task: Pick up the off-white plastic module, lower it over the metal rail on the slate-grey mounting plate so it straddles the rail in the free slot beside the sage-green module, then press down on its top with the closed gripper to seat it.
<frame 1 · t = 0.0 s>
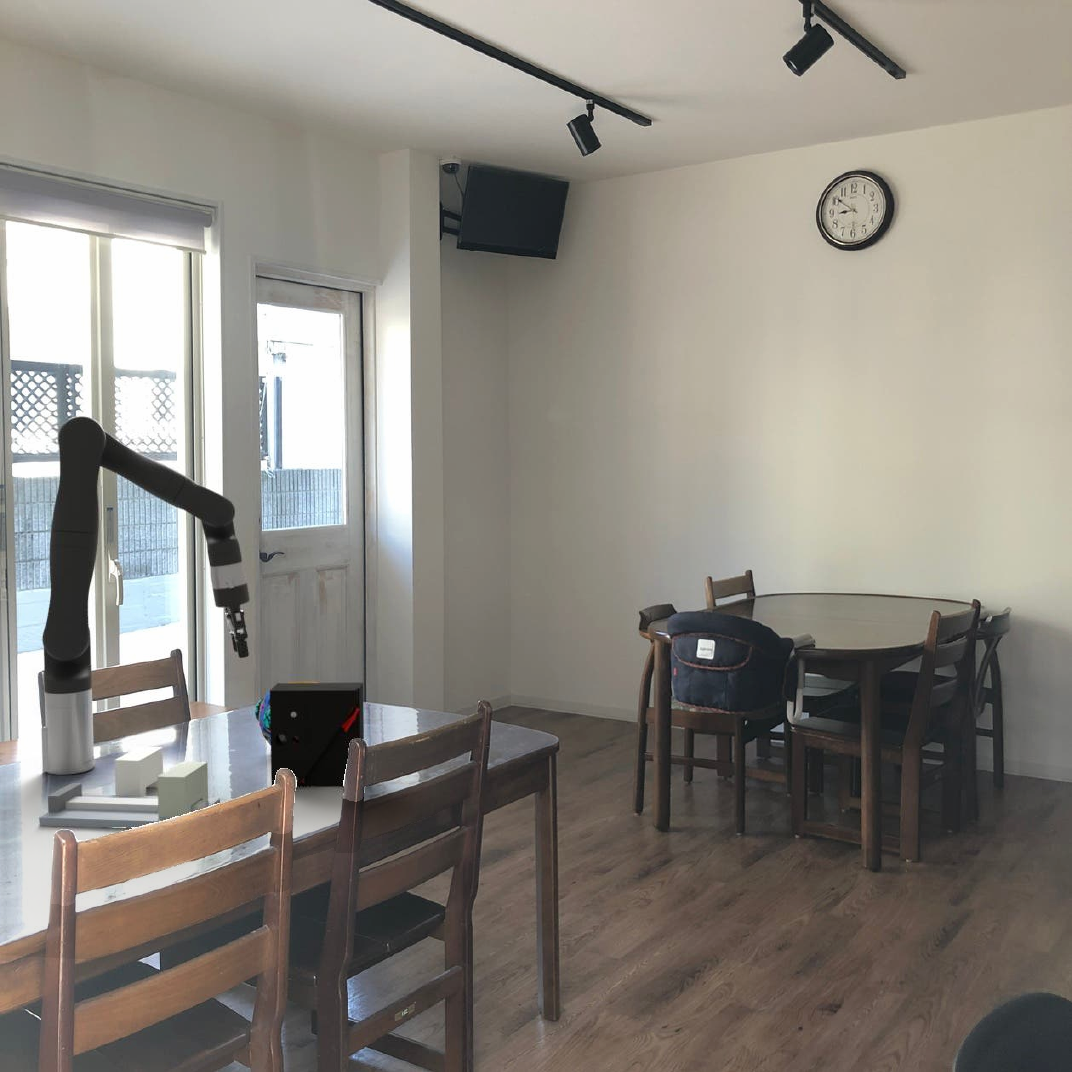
hand: (241, 654, 241), 22 cm above the table, tool pointing down, fingers open, 8 cm apart
ceramic pot: (299, 752, 243), on the table
mounting plate: (132, 815, 198), on the table
module: (140, 790, 213), on the table
electrical component: (319, 783, 219), on the table
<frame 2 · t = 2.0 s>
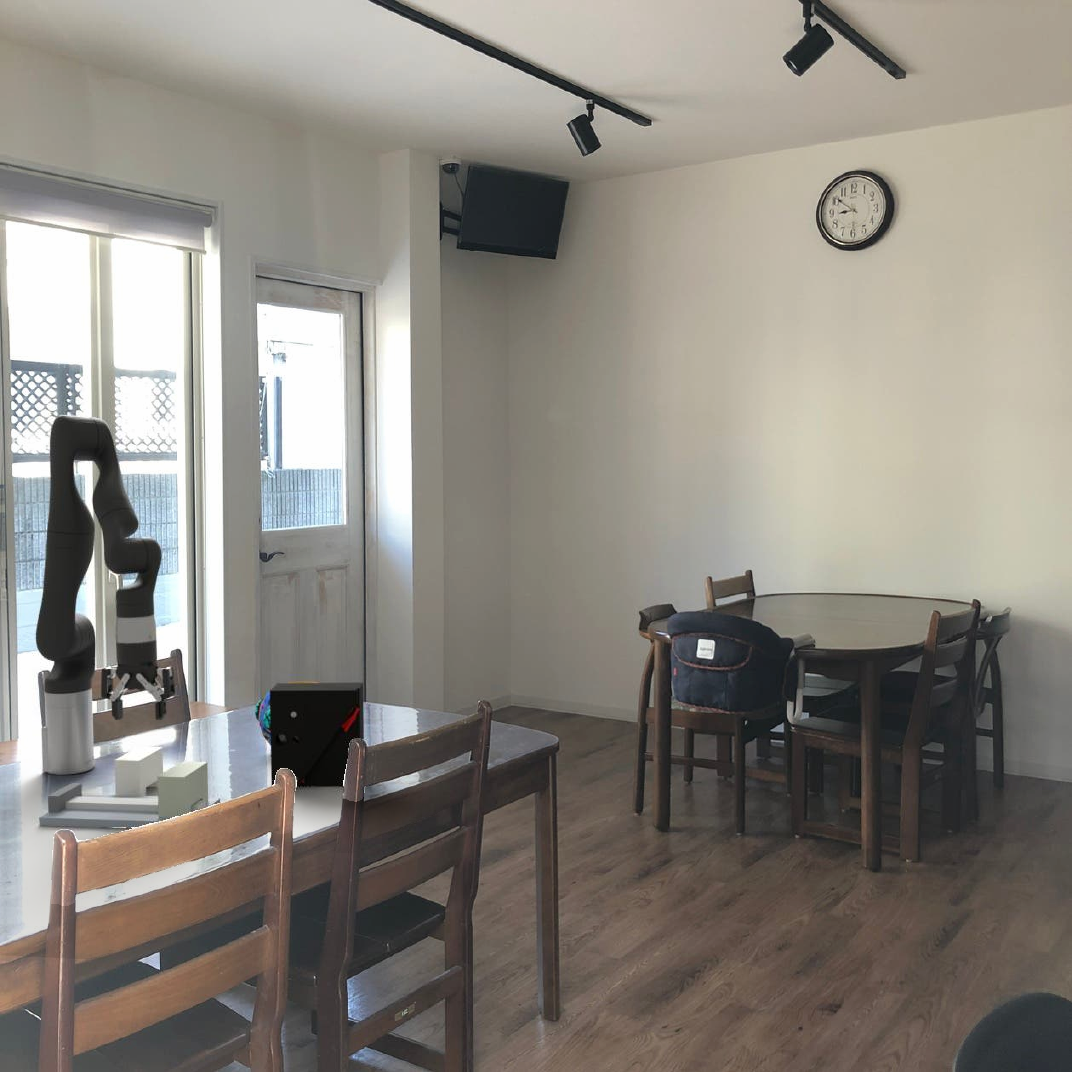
hand: (139, 719, 213), 14 cm above the table, tool pointing down, fingers open, 8 cm apart
nothing on the table moved.
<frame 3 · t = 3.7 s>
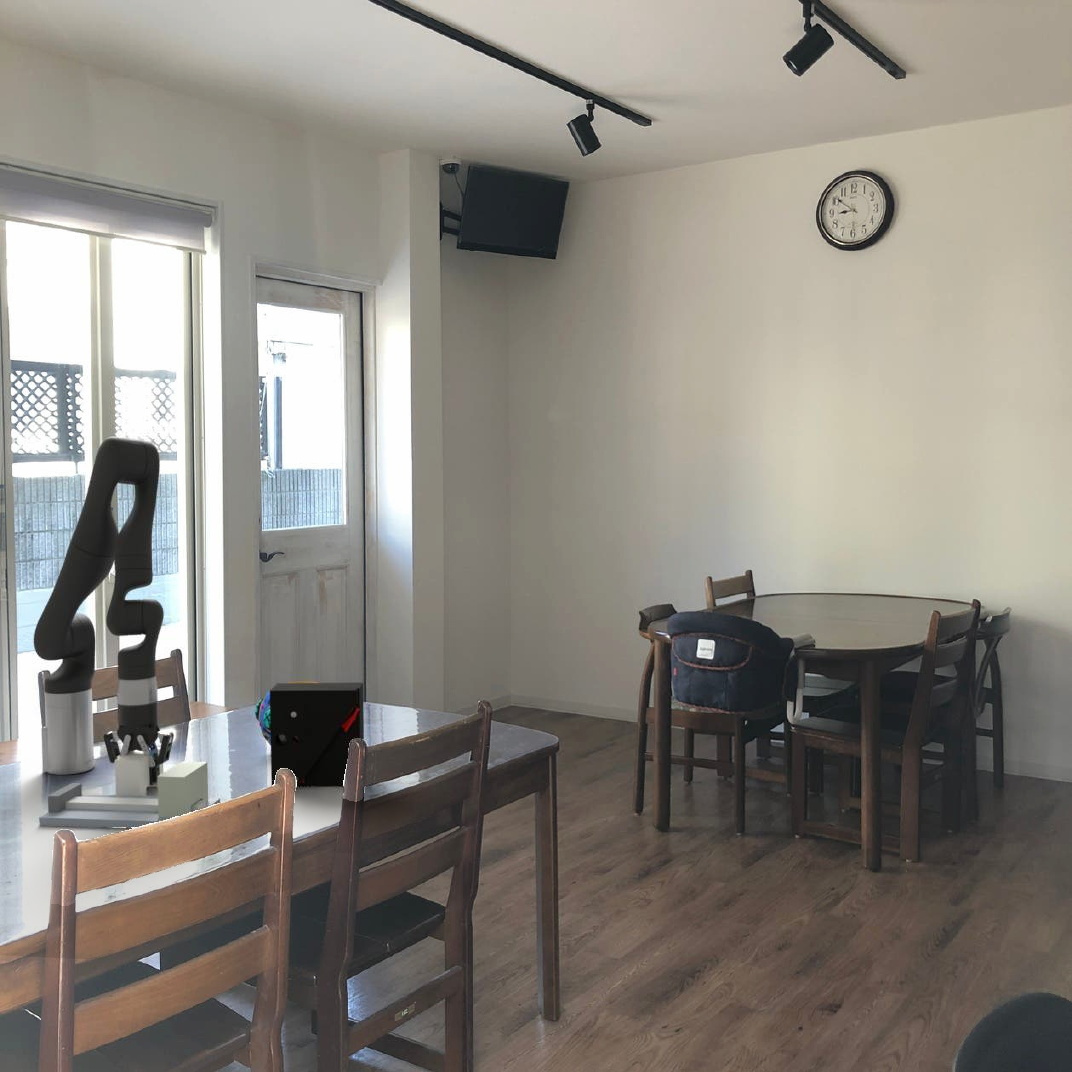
hand: (140, 783, 213), 1 cm above the table, tool pointing down, fingers closed on module, 5 cm apart
module: (140, 790, 213), on the table, touching gripper
everything else where it was.
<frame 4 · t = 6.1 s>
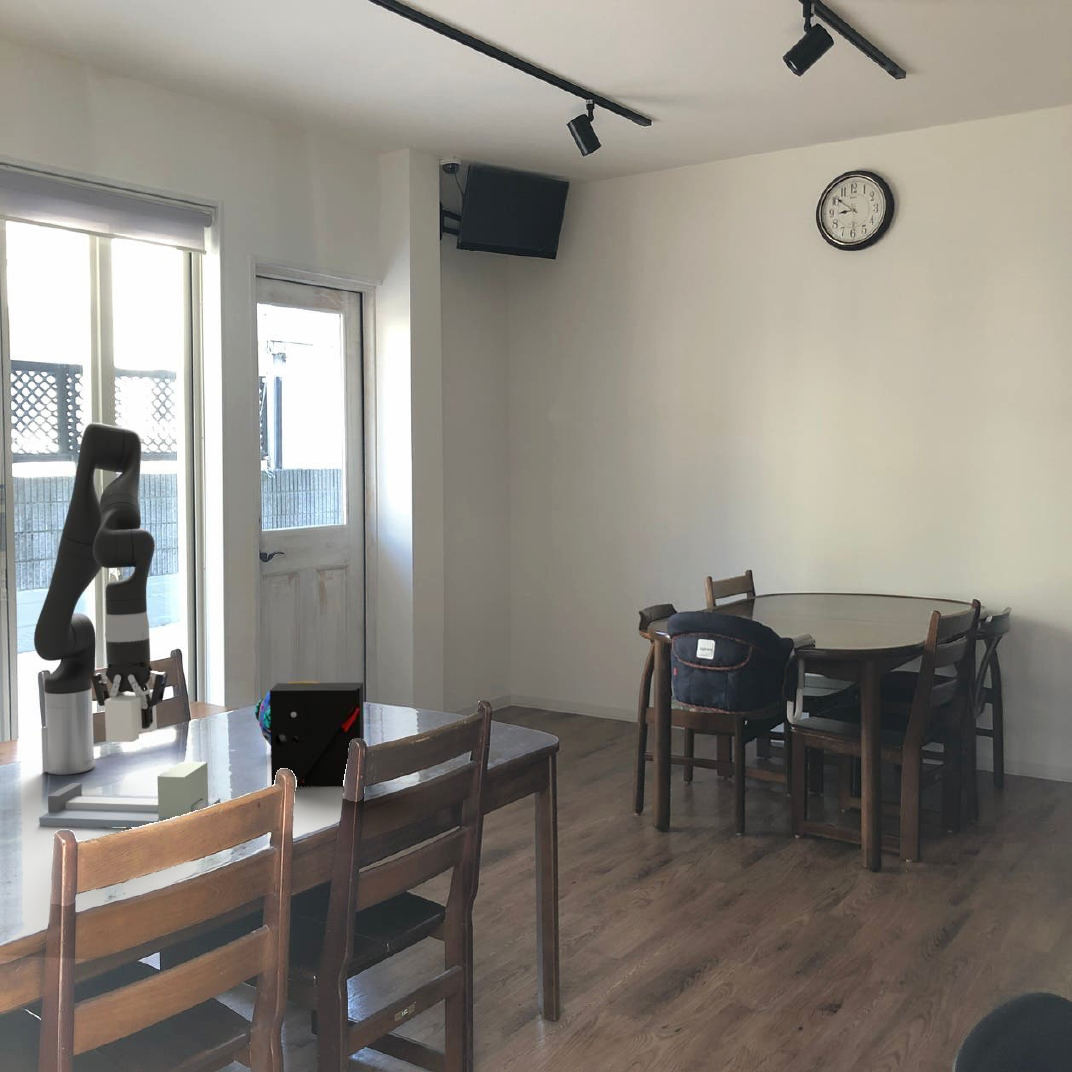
hand: (131, 727, 199), 16 cm above the table, tool pointing down, fingers closed on module, 5 cm apart
module: (132, 735, 199), point 15 cm above the table, touching gripper
everything else where it was.
when the fingers open (5 cm above the table, at t = 8.7 s): module drops 2 cm, resting on mounting plate.
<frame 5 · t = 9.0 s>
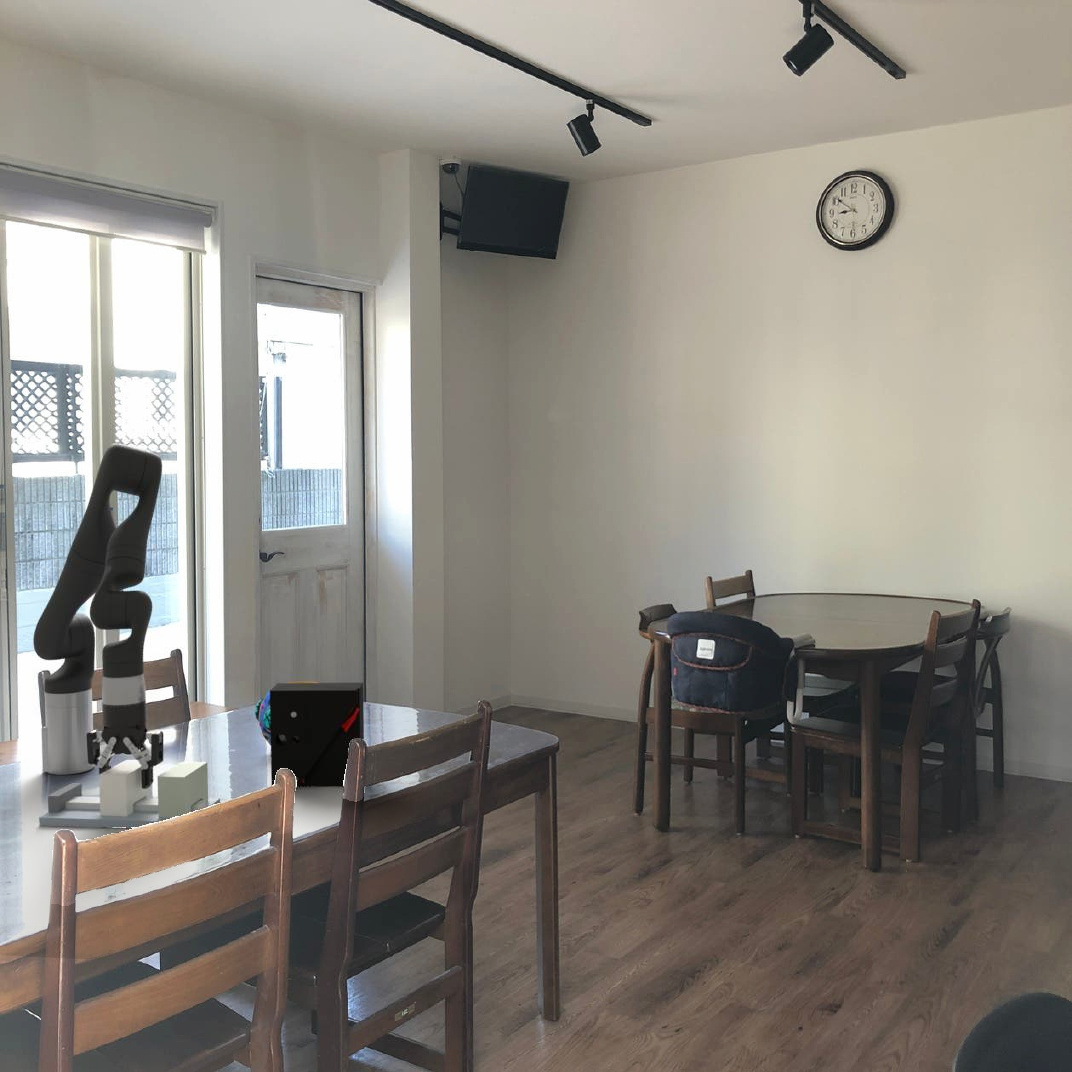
hand: (126, 786, 198), 5 cm above the table, tool pointing down, fingers open, 7 cm apart
module: (127, 807, 198), point 1 cm above the table, touching mounting plate
everything else where it was.
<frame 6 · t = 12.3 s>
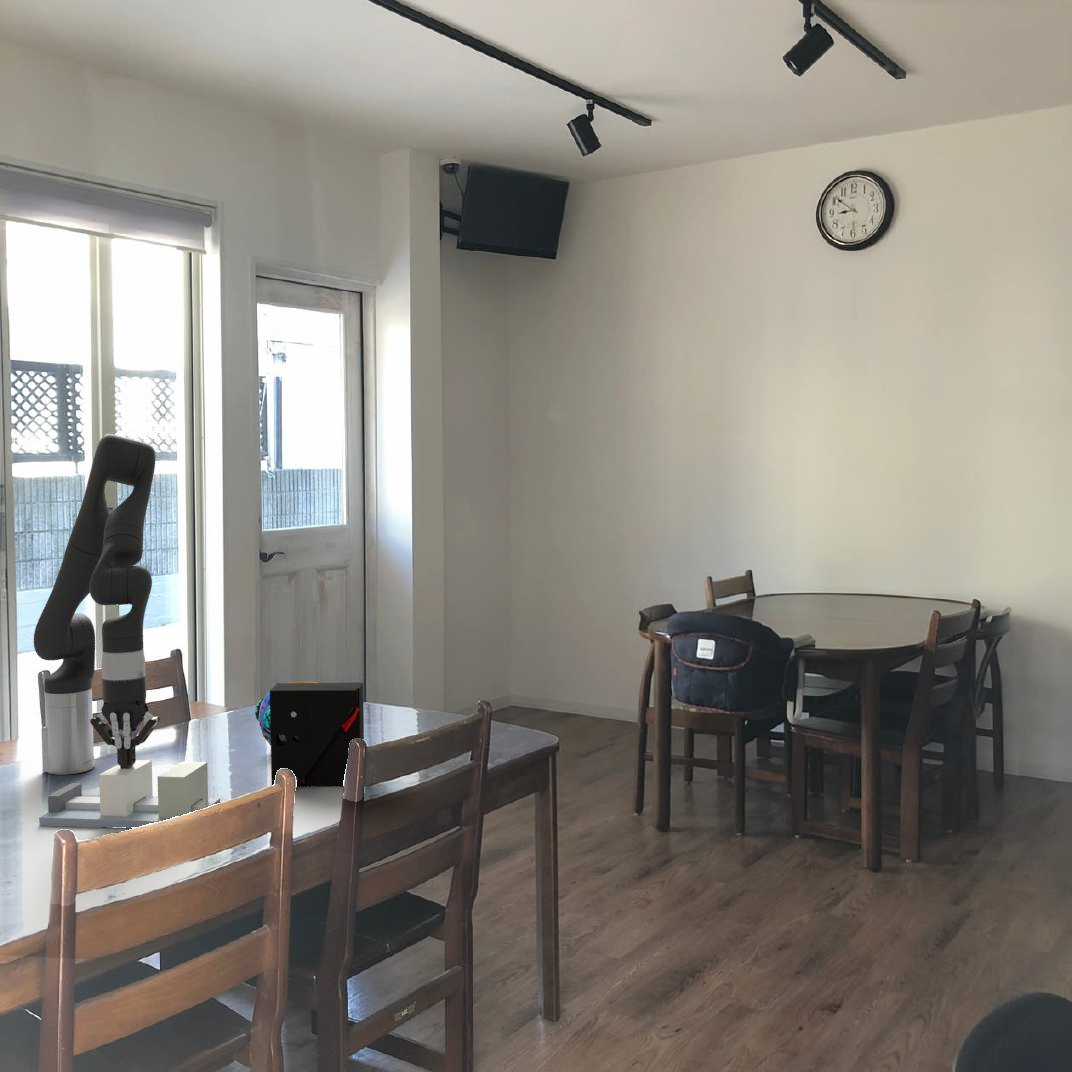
hand: (126, 767, 197), 9 cm above the table, tool pointing down, fingers closed
module: (127, 807, 198), point 1 cm above the table, touching gripper, mounting plate
everything else where it was.
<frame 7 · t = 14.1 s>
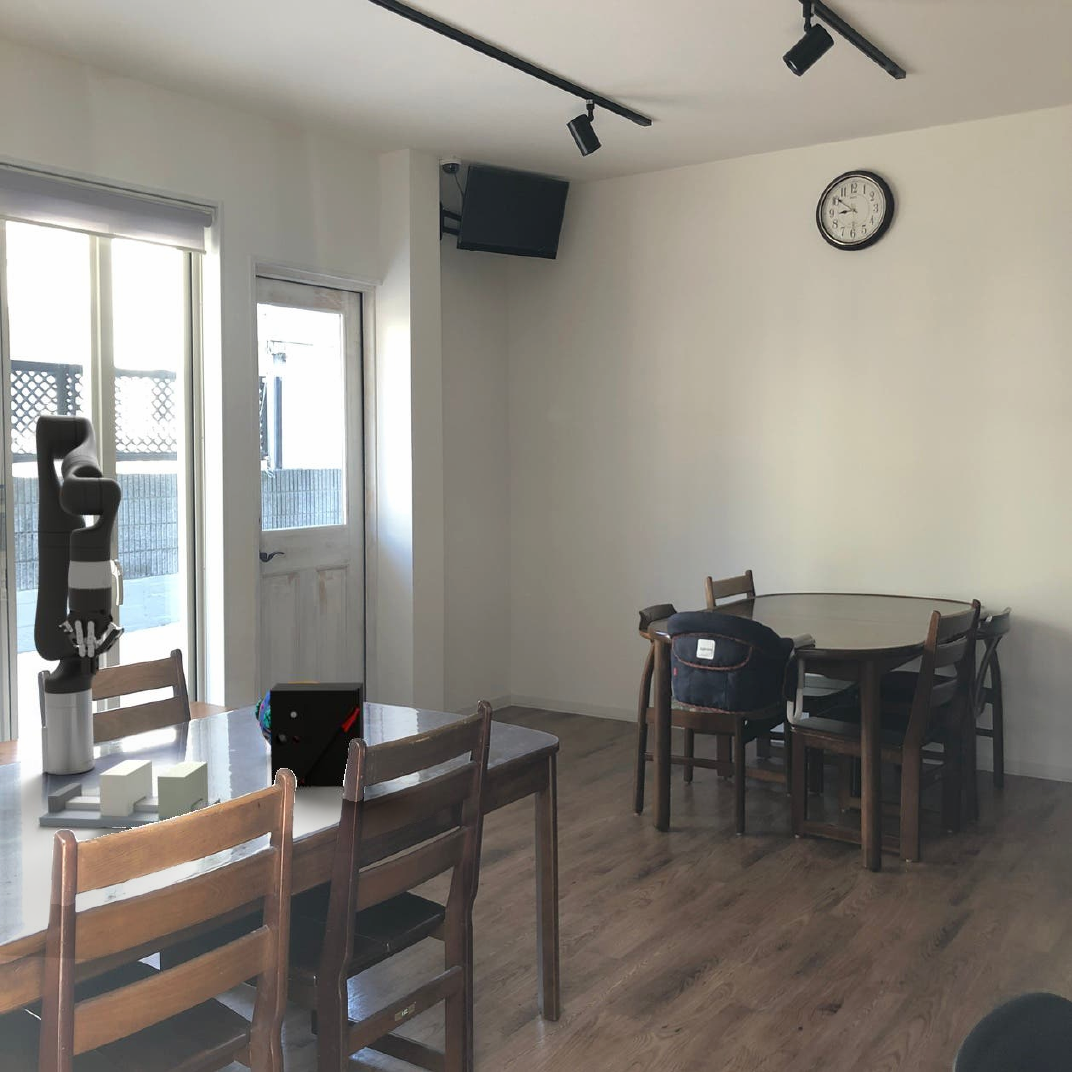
hand: (89, 675, 201), 25 cm above the table, tool pointing down, fingers closed
module: (127, 807, 198), point 1 cm above the table, touching mounting plate
everything else where it was.
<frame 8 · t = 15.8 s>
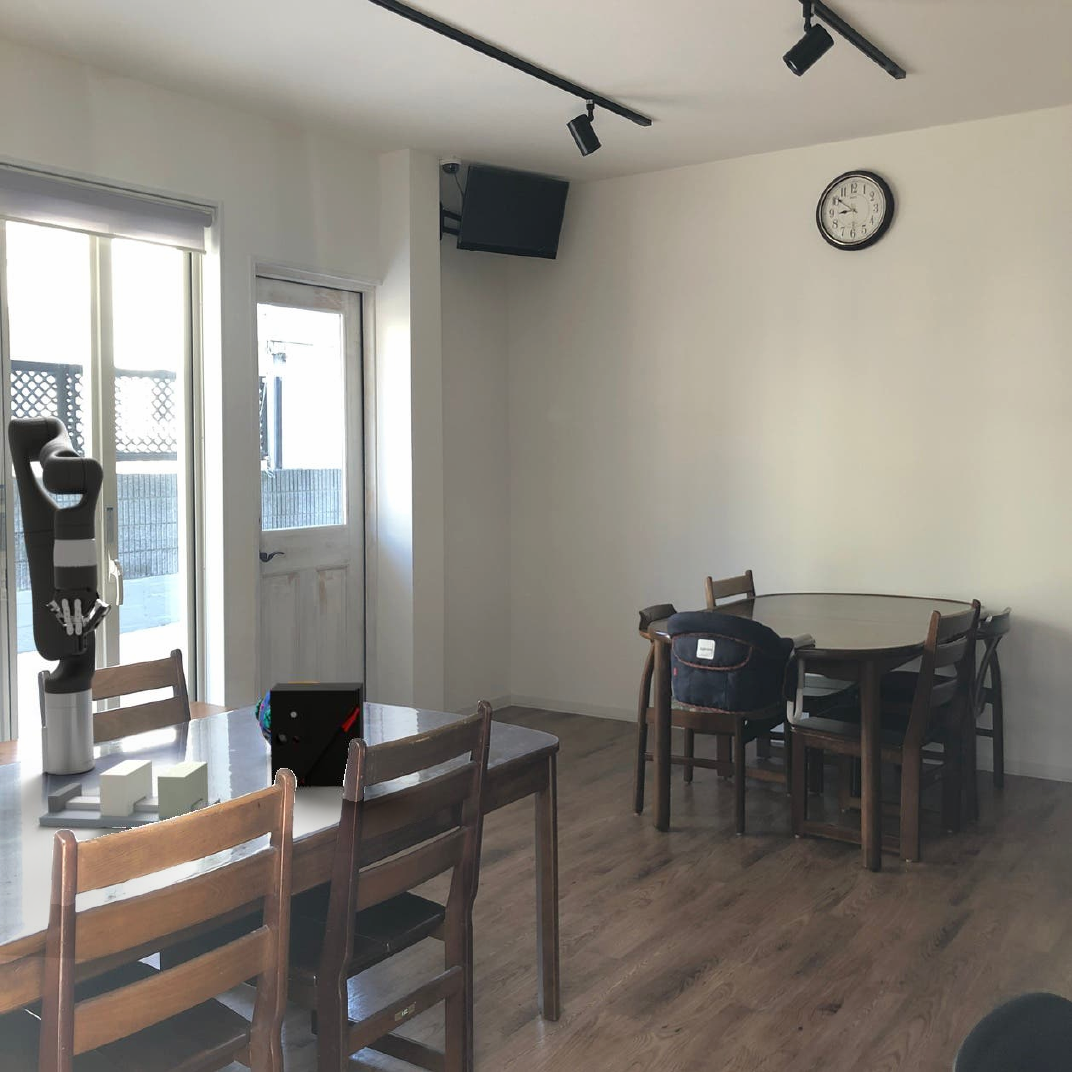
hand: (78, 653, 203), 29 cm above the table, tool pointing down, fingers closed
nothing on the table moved.
at the end: module 0.1 cm from the target spot on the mounting plate, point 1.5 cm above the mounting plate's base; module tilted 0°; the gripper is holding nothing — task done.
